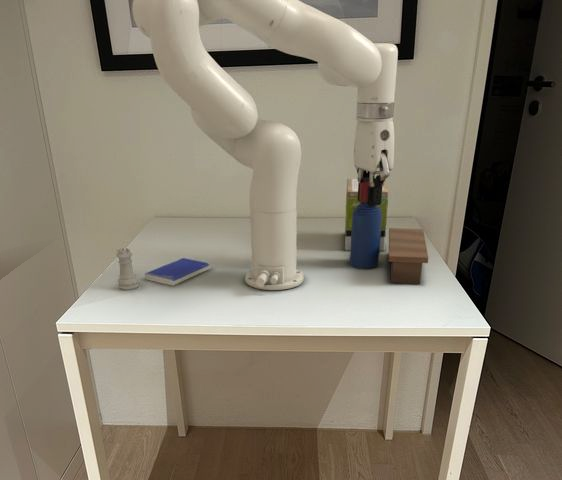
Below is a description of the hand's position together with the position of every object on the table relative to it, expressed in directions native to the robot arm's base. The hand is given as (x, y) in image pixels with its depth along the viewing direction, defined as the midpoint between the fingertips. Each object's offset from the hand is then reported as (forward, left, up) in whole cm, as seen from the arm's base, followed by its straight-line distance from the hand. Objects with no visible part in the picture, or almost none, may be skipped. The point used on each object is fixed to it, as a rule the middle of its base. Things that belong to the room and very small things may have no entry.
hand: (369, 202), depth 128 cm
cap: (0, 0, 0) cm, 0 cm away
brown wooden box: (-2, -9, -14) cm, 17 cm away
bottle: (0, 0, -14) cm, 14 cm away
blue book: (-13, +41, -14) cm, 45 cm away
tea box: (+17, +1, -14) cm, 22 cm away
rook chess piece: (-22, +49, -14) cm, 56 cm away
